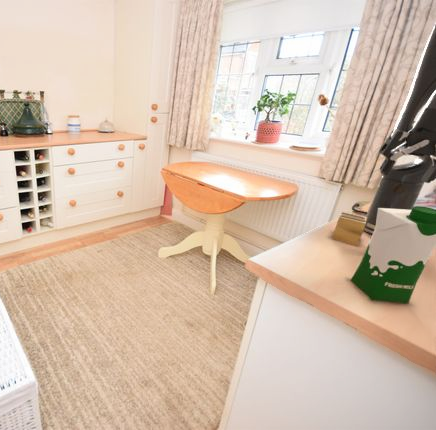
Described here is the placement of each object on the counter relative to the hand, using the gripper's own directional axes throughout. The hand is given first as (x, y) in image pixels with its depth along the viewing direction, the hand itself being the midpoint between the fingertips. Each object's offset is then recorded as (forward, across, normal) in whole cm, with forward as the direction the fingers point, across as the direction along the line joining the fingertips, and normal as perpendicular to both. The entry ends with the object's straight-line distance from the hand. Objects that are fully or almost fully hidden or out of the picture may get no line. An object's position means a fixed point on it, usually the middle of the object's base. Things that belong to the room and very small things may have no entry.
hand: (403, 177), depth 70 cm
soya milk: (+20, +4, +22) cm, 30 cm away
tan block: (+22, +1, -6) cm, 23 cm away
